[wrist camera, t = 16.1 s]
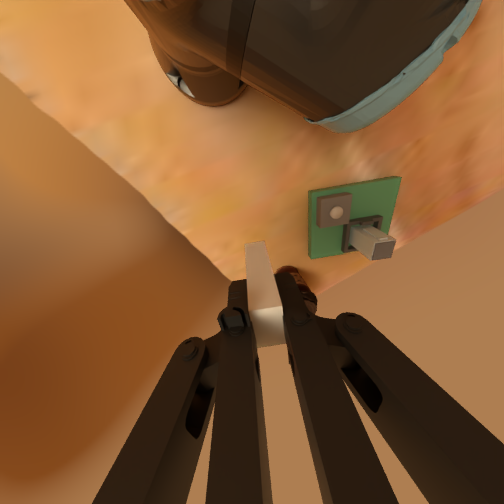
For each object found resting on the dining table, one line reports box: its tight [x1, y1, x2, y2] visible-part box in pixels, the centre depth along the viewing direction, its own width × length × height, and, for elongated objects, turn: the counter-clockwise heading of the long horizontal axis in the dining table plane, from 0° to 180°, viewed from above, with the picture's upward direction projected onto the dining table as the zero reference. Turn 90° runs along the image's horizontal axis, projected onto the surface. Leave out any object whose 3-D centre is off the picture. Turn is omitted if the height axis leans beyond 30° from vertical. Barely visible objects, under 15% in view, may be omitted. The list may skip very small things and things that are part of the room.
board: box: [308, 176, 402, 259], centre depth 39 cm, size 16×18×5 cm
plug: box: [349, 225, 396, 261], centre depth 37 cm, size 4×4×8 cm
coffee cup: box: [275, 266, 317, 315], centre depth 43 cm, size 9×8×13 cm
